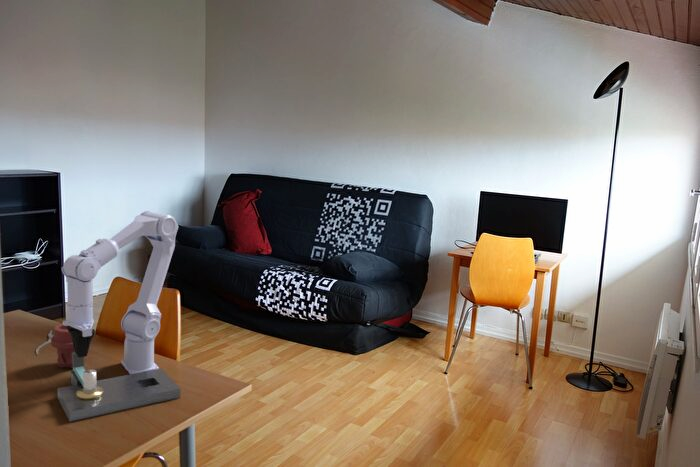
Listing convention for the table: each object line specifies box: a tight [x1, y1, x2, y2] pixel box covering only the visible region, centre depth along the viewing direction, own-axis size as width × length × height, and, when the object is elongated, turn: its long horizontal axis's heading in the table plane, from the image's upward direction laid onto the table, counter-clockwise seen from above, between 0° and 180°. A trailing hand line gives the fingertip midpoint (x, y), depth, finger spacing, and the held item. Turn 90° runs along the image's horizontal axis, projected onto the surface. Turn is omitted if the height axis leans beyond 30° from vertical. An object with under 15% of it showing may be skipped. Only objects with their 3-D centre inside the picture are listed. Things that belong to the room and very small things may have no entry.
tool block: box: [56, 368, 181, 423], centre depth 152 cm, size 21×26×3 cm
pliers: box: [35, 329, 54, 356], centre depth 181 cm, size 10×1×20 cm
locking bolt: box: [72, 352, 86, 386], centre depth 150 cm, size 12×2×5 cm, turn 36°
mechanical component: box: [50, 322, 86, 369], centre depth 165 cm, size 12×10×10 cm
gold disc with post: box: [77, 369, 103, 400], centre depth 144 cm, size 6×6×8 cm
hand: (81, 354), depth 150 cm, fingers closed
